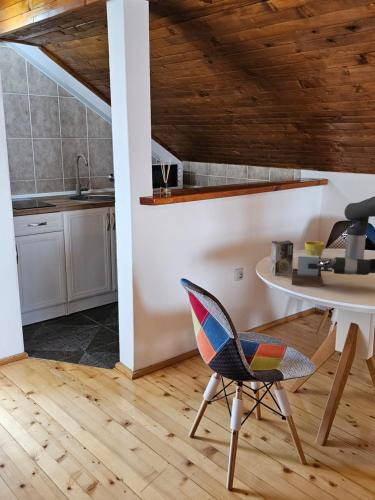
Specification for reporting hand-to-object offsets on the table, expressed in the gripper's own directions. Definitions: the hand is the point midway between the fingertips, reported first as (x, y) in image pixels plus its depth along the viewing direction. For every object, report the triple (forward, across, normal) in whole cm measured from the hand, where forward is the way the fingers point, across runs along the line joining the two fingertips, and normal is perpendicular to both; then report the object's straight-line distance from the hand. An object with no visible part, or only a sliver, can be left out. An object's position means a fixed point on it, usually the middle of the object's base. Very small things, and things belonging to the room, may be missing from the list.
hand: (307, 263), depth 215 cm
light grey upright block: (0, 0, +8) cm, 9 cm away
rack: (0, -3, +10) cm, 10 cm away
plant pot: (-4, -45, +10) cm, 46 cm away
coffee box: (+12, -14, +10) cm, 21 cm away
